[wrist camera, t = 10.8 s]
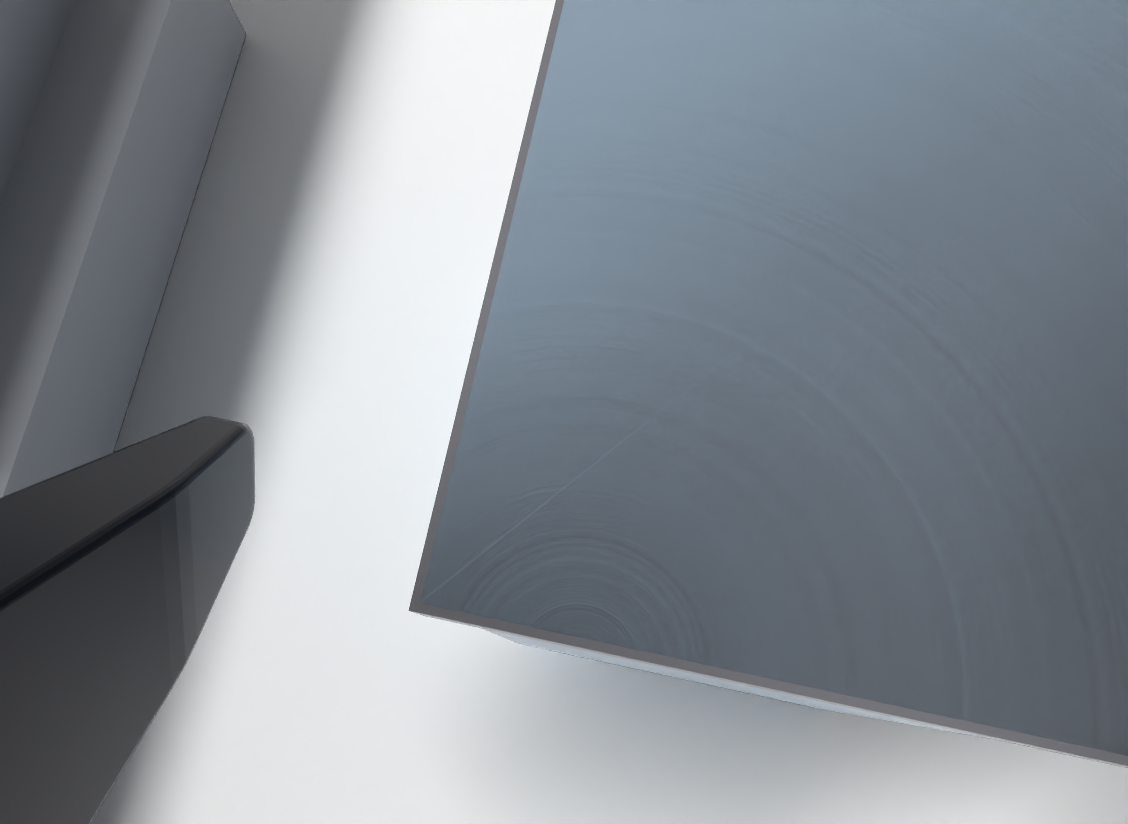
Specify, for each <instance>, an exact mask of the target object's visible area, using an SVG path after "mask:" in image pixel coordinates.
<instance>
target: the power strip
mask: <svg viewBox="0 0 1128 824" xmlns="http://www.w3.org/2000/svg"><path fill="white" fill-rule="evenodd" d="M245 36H246V33H245V31H244V29H243V27H242V25H241V23H240V21H239V19H238V17H237V16H236V14H235V12H234V10H233V8H232V6H231V4H230V2H229V0H0V498H1V497H4V496H6V495H9V494H11V493H14V492H16V491H19V490H21V489H24V488H26V487H29V486H31V485H34V484H36V483H39V482H41V481H44V480H46V479H49V478H51V477H54V476H56V475H59V474H61V473H64V472H66V471H69V470H71V469H74V468H76V467H79V466H81V465H84V464H86V463H89V462H91V461H94V460H96V459H99V458H101V457H104V456H106V455H109V454H111V453H113V451H114V448H115V445H116V442H117V439H118V435H119V432H120V429H121V426H122V423H123V420H124V417H125V413H126V410H127V407H128V404H129V401H130V398H131V395H132V391H133V388H134V385H135V382H136V379H137V376H138V373H139V369H140V366H141V363H142V360H143V357H144V354H145V351H146V347H147V344H148V341H149V338H150V335H151V332H152V329H153V325H154V322H155V319H156V316H157V313H158V310H159V307H160V303H161V300H162V297H163V294H164V291H165V288H166V285H167V281H168V278H169V275H170V272H171V269H172V266H173V263H174V259H175V256H176V253H177V250H178V247H179V244H180V241H181V237H182V234H183V231H184V228H185V225H186V222H187V219H188V215H189V212H190V209H191V206H192V203H193V200H194V196H195V193H196V190H197V187H198V184H199V181H200V178H201V174H202V171H203V168H204V165H205V162H206V159H207V156H208V152H209V149H210V146H211V143H212V140H213V137H214V134H215V130H216V127H217V124H218V121H219V118H220V115H221V112H222V108H223V105H224V102H225V99H226V96H227V93H228V90H229V86H230V83H231V80H232V77H233V74H234V71H235V68H236V64H237V61H238V58H239V55H240V52H241V49H242V46H243V42H244V39H245Z"/></svg>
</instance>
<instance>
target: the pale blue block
mask: <svg viewBox="0 0 1128 824" xmlns="http://www.w3.org/2000/svg"><path fill="white" fill-rule="evenodd" d="M409 611H411V612H414V613H417V614H420V615H423V616H427V617H432V618H437V619H441V620H446V621H451V622H455V623H460V624H464V625H469V626H474V627H478V628H482V629H485V630H487V631H490V632H492V633H494V634H497V635H499V636H502V637H504V638H507V639H509V640H512V641H514V642H517V643H519V644H523V645H528V646H533V647H537V648H542V649H547V650H551V651H556V652H560V653H565V654H570V655H574V656H579V657H583V658H588V659H593V660H597V661H602V662H606V663H611V664H616V665H620V666H625V667H630V668H634V669H639V670H643V671H648V672H653V673H657V674H662V675H666V676H671V677H676V678H680V679H685V680H690V681H694V682H699V683H703V684H708V685H713V686H717V687H722V688H726V689H731V690H736V691H740V692H745V693H750V694H754V695H759V696H763V697H768V698H773V699H777V700H782V701H786V702H791V703H796V704H800V705H805V706H810V707H814V708H819V709H823V710H828V711H834V712H840V713H845V714H851V715H857V716H863V717H869V718H874V719H880V720H886V721H892V722H897V723H903V724H909V725H915V726H921V727H926V728H932V729H938V730H944V731H950V732H955V733H961V734H967V735H973V736H978V737H984V738H990V739H996V740H1001V741H1005V742H1010V743H1015V744H1019V745H1024V746H1028V747H1033V748H1038V749H1042V750H1047V751H1052V752H1056V753H1061V754H1065V755H1070V756H1075V757H1079V758H1084V759H1089V760H1093V761H1098V762H1102V763H1107V764H1112V765H1116V766H1121V767H1126V768H1128V0H556V2H555V7H554V11H553V15H552V19H551V23H550V27H549V31H548V36H547V40H546V44H545V48H544V52H543V56H542V60H541V65H540V69H539V73H538V77H537V81H536V85H535V89H534V94H533V98H532V102H531V106H530V110H529V114H528V118H527V123H526V127H525V131H524V135H523V139H522V143H521V147H520V152H519V156H518V160H517V164H516V168H515V172H514V176H513V181H512V185H511V189H510V193H509V197H508V201H507V205H506V210H505V214H504V218H503V222H502V226H501V230H500V234H499V239H498V243H497V247H496V251H495V255H494V259H493V263H492V268H491V272H490V276H489V280H488V284H487V288H486V292H485V297H484V301H483V305H482V309H481V313H480V317H479V321H478V326H477V330H476V334H475V338H474V342H473V346H472V350H471V355H470V359H469V363H468V367H467V371H466V375H465V379H464V384H463V388H462V392H461V396H460V400H459V404H458V408H457V413H456V417H455V421H454V425H453V429H452V433H451V437H450V442H449V446H448V450H447V454H446V458H445V462H444V466H443V471H442V475H441V479H440V483H439V487H438V491H437V495H436V500H435V504H434V508H433V512H432V516H431V520H430V524H429V529H428V533H427V537H426V541H425V545H424V549H423V553H422V558H421V562H420V566H419V570H418V574H417V578H416V582H415V587H414V591H413V595H412V599H411V603H410V607H409Z"/></svg>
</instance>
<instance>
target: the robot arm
mask: <svg viewBox="0 0 1128 824" xmlns="http://www.w3.org/2000/svg"><path fill="white" fill-rule="evenodd" d="M254 504H255V466H254V437H253V434H252V430H251V429H250V428H249V427H248V426H247V425H246V424H244V423H239V422H235V421H230V420H225V419H220V418H215V417H210V416H206V417H201V418H198V419H196V420H193V421H191V422H188V423H186V424H183V425H181V426H178V427H176V428H173V429H171V430H168V431H166V432H163V433H161V434H158V435H156V436H153V437H151V438H148V439H146V440H143V441H141V442H139V443H136V444H134V445H131V446H129V447H126V448H124V449H121V450H119V451H116V452H114V453H111V454H109V455H106V456H104V457H101V458H99V459H96V460H94V461H91V462H89V463H86V464H84V465H81V466H79V467H76V468H74V469H71V470H69V471H66V472H64V473H61V474H59V475H56V476H54V477H51V478H49V479H46V480H44V481H41V482H39V483H36V484H34V485H31V486H29V487H26V488H24V489H21V490H19V491H16V492H14V493H11V494H9V495H6V496H4V497H1V498H0V824H90V823H91V821H92V819H93V818H94V816H95V814H96V813H97V811H98V809H99V808H100V806H101V804H102V803H103V801H104V799H105V798H106V796H107V795H108V793H109V791H110V790H111V788H112V786H113V785H114V783H115V781H116V780H117V778H118V776H119V775H120V773H121V771H122V770H123V768H124V766H125V765H126V763H127V762H128V760H129V758H130V757H131V755H132V753H133V752H134V750H135V748H136V747H137V745H138V743H139V742H140V740H141V738H142V737H143V735H144V733H145V732H146V730H147V729H148V727H149V725H150V724H151V722H152V720H153V719H154V717H155V715H156V714H157V712H158V710H159V709H160V707H161V705H162V704H163V702H164V700H165V699H166V697H167V696H168V694H169V692H170V691H171V689H172V687H173V685H174V684H175V682H176V680H177V678H178V677H179V675H180V673H181V671H182V670H183V668H184V666H185V664H186V662H187V660H188V658H189V656H190V654H191V652H192V650H193V648H194V646H195V644H196V642H197V640H198V637H199V635H200V633H201V631H202V629H203V626H204V624H205V622H206V620H207V618H208V615H209V613H210V611H211V609H212V606H213V604H214V602H215V600H216V598H217V595H218V593H219V591H220V589H221V587H222V584H223V582H224V580H225V578H226V576H227V573H228V571H229V569H230V567H231V565H232V562H233V560H234V558H235V556H236V553H237V551H238V549H239V547H240V545H241V542H242V540H243V538H244V536H245V534H246V531H247V529H248V527H249V524H250V522H251V518H252V515H253V510H254Z"/></svg>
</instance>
